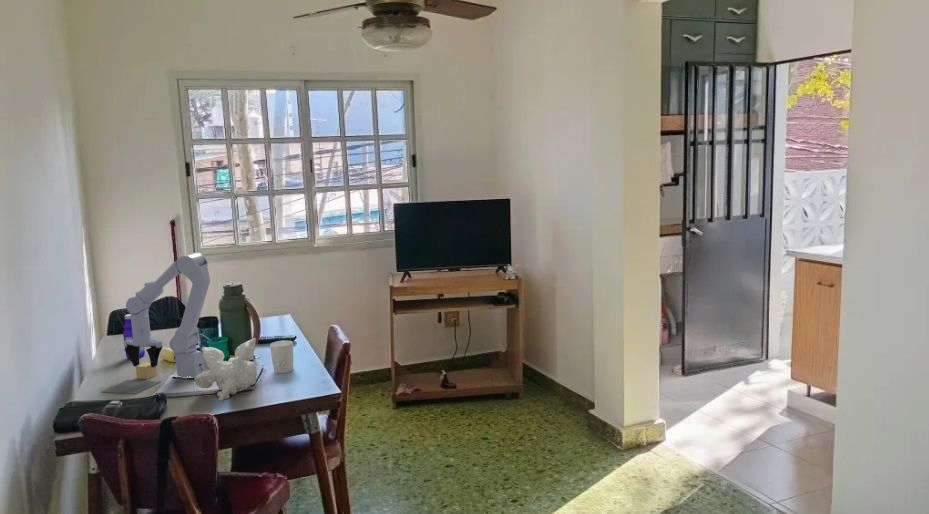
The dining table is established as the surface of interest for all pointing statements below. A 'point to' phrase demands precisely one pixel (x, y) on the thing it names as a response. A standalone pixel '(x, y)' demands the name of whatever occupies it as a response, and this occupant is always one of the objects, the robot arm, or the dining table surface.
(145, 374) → the block
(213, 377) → the white lumpy sculpture
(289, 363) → the white cup
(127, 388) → the placemat
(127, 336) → the bottle
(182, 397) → the dining table surface
